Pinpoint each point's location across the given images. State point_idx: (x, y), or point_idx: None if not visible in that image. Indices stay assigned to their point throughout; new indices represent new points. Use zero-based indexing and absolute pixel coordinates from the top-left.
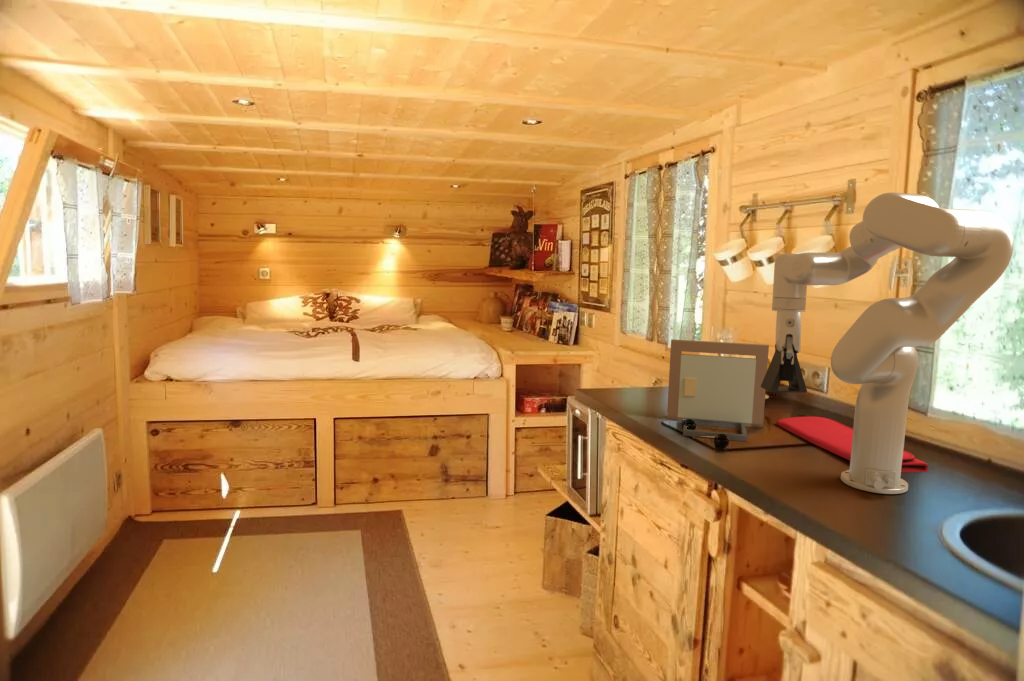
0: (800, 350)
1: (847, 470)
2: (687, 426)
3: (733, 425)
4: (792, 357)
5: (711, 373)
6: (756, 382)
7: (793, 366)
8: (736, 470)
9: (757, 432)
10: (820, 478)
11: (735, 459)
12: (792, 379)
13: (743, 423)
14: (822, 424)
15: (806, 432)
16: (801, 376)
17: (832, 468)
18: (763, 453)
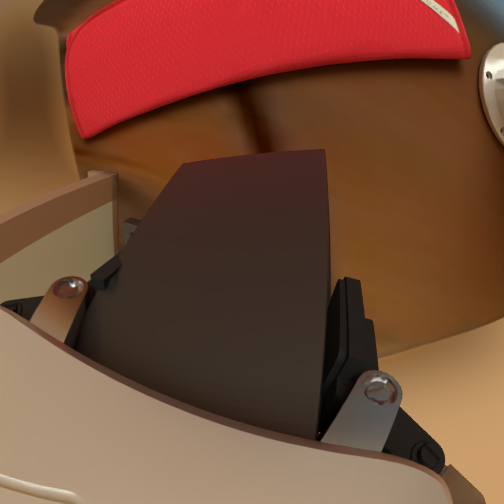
0: (442, 485)
1: (494, 121)
2: None
3: None
4: (440, 454)
5: None
6: (36, 235)
7: (367, 352)
8: (443, 325)
9: (156, 196)
10: (500, 188)
11: (386, 312)
12: (359, 286)
13: (130, 226)
14: (123, 41)
15: (188, 87)
16: (327, 217)
17: (446, 122)
18: (344, 240)
